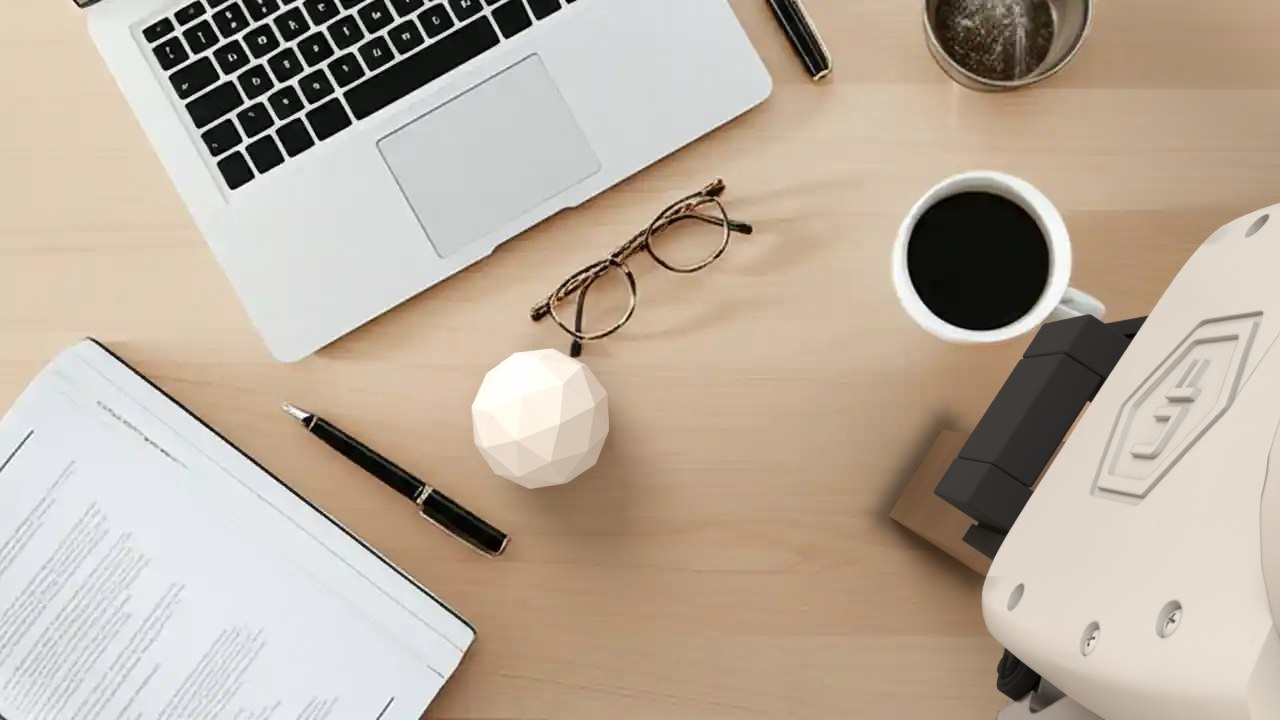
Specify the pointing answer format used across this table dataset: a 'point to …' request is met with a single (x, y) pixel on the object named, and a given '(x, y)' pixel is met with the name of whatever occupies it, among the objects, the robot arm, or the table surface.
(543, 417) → the geometric ball
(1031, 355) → the dark grey square frame
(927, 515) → the stand
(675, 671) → the table surface
